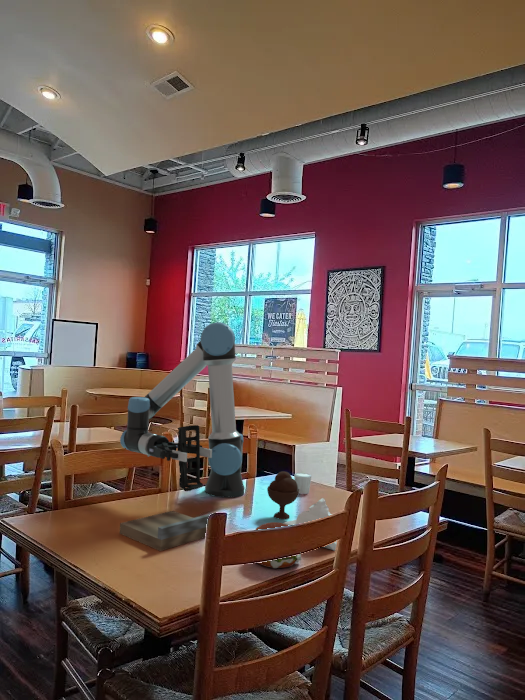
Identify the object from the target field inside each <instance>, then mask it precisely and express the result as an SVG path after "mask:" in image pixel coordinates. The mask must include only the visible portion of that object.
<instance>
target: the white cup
mask: <svg viewBox="0 0 525 700" xmlns="http://www.w3.org/2000/svg"><path fill="white" fill-rule="evenodd" d="M293 475H294V478H293V479H294V480H295V481H296V483H297V485H298V489H299V493H298V495H307V494H309V493H310V488H311V480H312V474H309V473H303V472H297V473H296V472H295V473H294V474H293Z"/></svg>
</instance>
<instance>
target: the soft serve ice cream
mask: <svg viewBox="0 0 525 700" xmlns="http://www.w3.org/2000/svg"><path fill="white" fill-rule="evenodd" d="M329 509H330V508H329V507H328V505H327V504H326V500H325V498H323V497H322V498H320V499H319V500H318V501H317V502H316V503H314V504H312V505H311V506H309V507H308V510H304V511H302V512H301V513H299V514H298V515H297V517H296V519H294V520H288V521H285V522H283V524H286V525H293V524H299V523H304V522H308V521H312V520H316V519H319V518H324V517H327V516H330V515H333V514H331V512H330V511H329ZM322 548H323V549H327V550H331V551H334V552H335V551H336V548H337V541H336V542H334V543H332V544H329V545H327V546H325V547H322Z"/></svg>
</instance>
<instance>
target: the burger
mask: <svg viewBox="0 0 525 700" xmlns="http://www.w3.org/2000/svg"><path fill="white" fill-rule="evenodd" d="M281 526H288V525H286V524H284V522H283V523H282V522H278V521H277V522H275V521H274V522H265V523H264V524H263V523H262V524H261V525H259V526H257V527H256V528H255V530H258V529H267V528H275V527H281ZM301 560H302V553H301V554H299V555H296V556H291V557H286V558H282V559H277V560H272V561H267V562H262V563H257V564H259V565H261V566H263V567H268V568H273V569H277V568H278V569H281V568H283V569H284V568H288V567H292V566H293V565H295V564H296V563H298V562H299V561H301Z"/></svg>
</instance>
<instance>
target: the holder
mask: <svg viewBox="0 0 525 700" xmlns="http://www.w3.org/2000/svg"><path fill="white" fill-rule="evenodd" d="M177 429H178V431H177V433H178V439H177V440H178V441H177V443H178V448H177V449H179V451H180V452H184V453H187V452H190V451H196V454H195V455H196V456H195V457H187V462H183V461H179V460H178V466H179V467H178V468H179V479H178V480H179V482H178V483H179V488H180V489H183V491H184V492H191V491H193V490H197V489H201V488H203V486H204V484H203V482H201V478H200V477H201V476H200V475H201V459H200V457H201V456H200V445H201V443H200V441H201V439H200V436H201V435H200V426H199V425H198V424H196V425H194V424H193V425H185V426H181V427H177ZM188 431H189V432H190V431H195V435H194V436H190V437H189V436H188V437H187V432H188ZM193 441H194V442H195V445H196V447H192V445H191V444H192V442H193ZM186 444H187V447H186ZM187 454H188V453H187ZM193 462H195V463H196V464H195V465H196V466H195V467H193ZM189 473H196V474H195V475H196V477H195V478H188V474H189Z"/></svg>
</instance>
